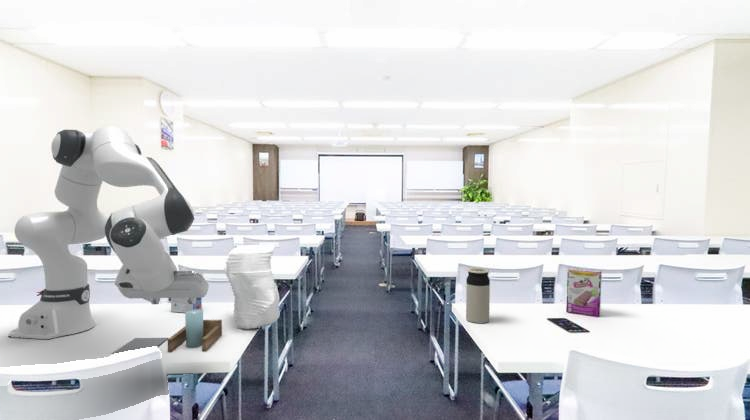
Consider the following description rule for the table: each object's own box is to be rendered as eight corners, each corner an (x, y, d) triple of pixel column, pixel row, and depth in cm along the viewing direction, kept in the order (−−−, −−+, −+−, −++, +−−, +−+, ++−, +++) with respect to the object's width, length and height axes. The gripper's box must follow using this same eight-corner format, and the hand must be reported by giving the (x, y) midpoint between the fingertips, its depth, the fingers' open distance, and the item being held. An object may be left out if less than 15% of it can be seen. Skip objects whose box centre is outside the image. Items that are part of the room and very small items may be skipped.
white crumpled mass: (286, 310, 154) (285, 244, 153) (275, 335, 128) (274, 254, 127) (229, 312, 153) (228, 244, 152) (206, 337, 126) (205, 255, 125)
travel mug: (480, 325, 137) (481, 273, 137) (461, 319, 143) (462, 269, 143) (493, 320, 143) (494, 270, 142) (474, 315, 149) (475, 267, 148)
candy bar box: (566, 312, 152) (566, 269, 151) (567, 309, 156) (568, 267, 155) (599, 317, 146) (600, 272, 145) (600, 314, 150) (601, 270, 149)
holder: (167, 351, 114) (167, 334, 114) (187, 335, 127) (187, 319, 127) (206, 351, 115) (206, 333, 114) (221, 335, 128) (221, 319, 127)
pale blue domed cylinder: (183, 347, 117) (182, 313, 117) (193, 338, 124) (192, 306, 124) (199, 347, 117) (199, 313, 117) (208, 338, 125) (208, 306, 124)
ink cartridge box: (202, 309, 156) (202, 272, 155) (193, 313, 150) (193, 275, 150) (180, 308, 158) (179, 271, 157) (170, 312, 152) (169, 274, 152)
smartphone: (569, 332, 130) (545, 318, 145) (569, 334, 130) (545, 319, 145) (591, 332, 130) (565, 317, 145) (591, 333, 130) (565, 319, 145)
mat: (106, 357, 110) (106, 356, 110) (135, 339, 124) (135, 338, 124) (144, 357, 110) (144, 355, 110) (168, 338, 124) (168, 337, 124)
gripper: (202, 261, 99) (217, 290, 109) (117, 261, 98) (140, 291, 109) (195, 283, 95) (211, 312, 105) (106, 284, 94) (131, 313, 104)
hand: (174, 301), depth 107 cm, fingers open, 8 cm apart
